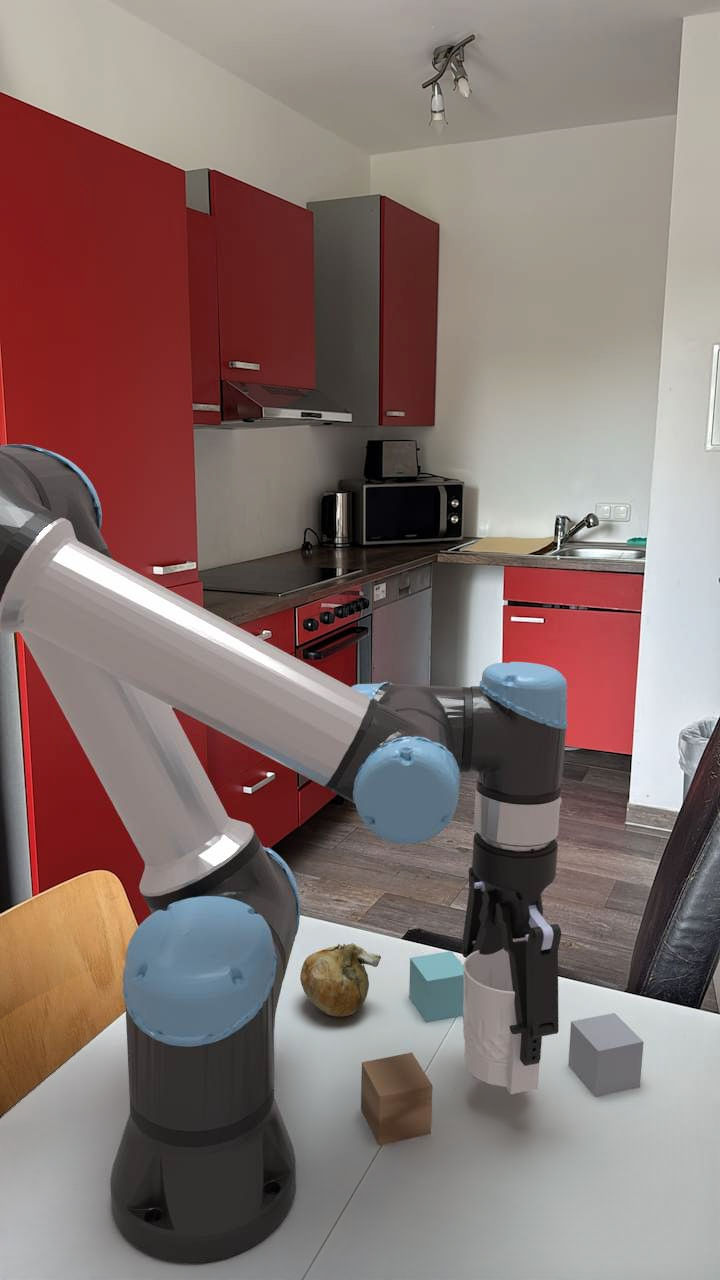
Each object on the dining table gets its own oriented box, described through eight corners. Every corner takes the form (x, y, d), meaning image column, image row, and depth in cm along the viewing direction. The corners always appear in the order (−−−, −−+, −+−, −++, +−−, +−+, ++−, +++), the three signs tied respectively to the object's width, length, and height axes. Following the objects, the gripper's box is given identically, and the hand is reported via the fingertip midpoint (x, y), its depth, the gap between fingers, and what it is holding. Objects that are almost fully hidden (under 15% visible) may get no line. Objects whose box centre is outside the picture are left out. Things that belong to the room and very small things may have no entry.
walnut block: (378, 1146, 85) (379, 1096, 84) (360, 1109, 89) (361, 1062, 88) (430, 1134, 86) (432, 1085, 85) (410, 1099, 91) (411, 1052, 90)
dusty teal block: (425, 1023, 103) (427, 981, 102) (409, 998, 108) (410, 957, 107) (468, 1015, 105) (469, 973, 104) (449, 991, 109) (451, 951, 108)
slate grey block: (595, 1097, 92) (598, 1051, 91) (568, 1066, 96) (571, 1021, 95) (639, 1087, 93) (643, 1041, 92) (611, 1057, 98) (614, 1012, 97)
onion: (343, 980, 111) (344, 917, 109) (384, 1014, 105) (386, 947, 103) (287, 1001, 107) (287, 935, 105) (327, 1037, 100) (327, 968, 99)
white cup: (548, 1093, 87) (556, 994, 85) (461, 1090, 87) (467, 990, 85) (534, 1040, 94) (541, 948, 92) (455, 1037, 95) (460, 945, 92)
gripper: (615, 878, 78) (594, 1125, 82) (502, 792, 97) (490, 996, 101) (533, 889, 75) (516, 1143, 80) (433, 798, 94) (424, 1007, 99)
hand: (501, 1061), depth 91 cm, fingers closed on white cup, 8 cm apart
